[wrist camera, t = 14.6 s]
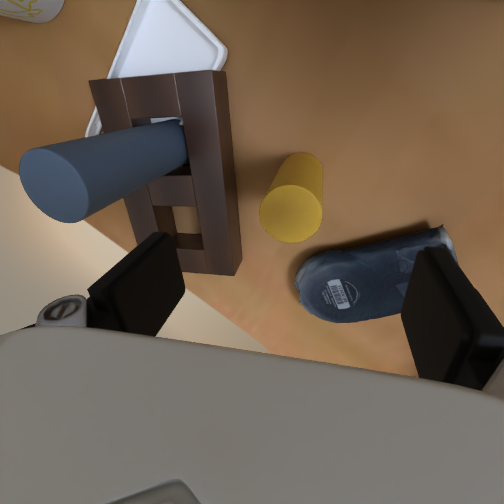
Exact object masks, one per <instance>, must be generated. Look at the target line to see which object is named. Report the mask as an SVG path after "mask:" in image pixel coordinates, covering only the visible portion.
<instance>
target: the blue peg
mask: <svg viewBox="0 0 504 504" xmlns="http://www.w3.org/2000/svg"><path fill="white" fill-rule="evenodd" d="M180 121H181V120H177V119H171V120H166V121H162V122H157V123H152V124H147V125H143V126H138V127H133V128H128V129H124V130H119V131H114V132H109V133H104V134H100V135H95V136H90V137H85V138H81V139H76V140H71V141H66V142H62V143H57V144H52V145H47V146H43V147H38V148H33V149H30V150H28V151H27V152H26V153H25V154H24V155H23V156H22V158H21V160H20V163H19V175H20V179H21V183H22V185H23V187H24V190H25V191H26V193H27V195H28V196H29V198H30V199H31V200H32V202H33V203H34V204H35V205H36V206H37V207H38V208H39V209H40V210H41V211H42V212H44V213H45V214H46V215H48V216H49V217H51V218H53V219H55V220H58V221H60V222H64V223H76V222H79V221H81V220H83V219H85V218H87V217H88V216H90V215H92V214H94V213H96V212H98V211H99V210H101V209H103V208H105V207H107V206H108V205H110V204H112V203H114V202H116V201H118V200H119V199H121V198H123V197H125V196H127V195H129V194H130V193H132V192H134V191H136V190H138V189H139V188H141V187H143V186H145V185H147V184H149V183H150V182H152V181H154V180H156V179H158V178H160V177H161V176H163V175H165V174H167V173H169V172H171V171H172V170H174V169H176V168H178V167H180V166H181V165H183V164H185V163H187V162H189V156H188V150H187V144H186V138H185V132H184V126H182V125H180V124H179V123H180Z"/></svg>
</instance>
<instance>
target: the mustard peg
mask: <svg viewBox="0 0 504 504" xmlns="http://www.w3.org/2000/svg"><path fill="white" fill-rule="evenodd" d="M322 195H323V169H322V166H321V164H320V162H319V161H318V159H317V158H316V157H314V156H313V155H311V154H309V153H303V152H300V153H295V154H293V155H291V156H289V157H288V158H287V159H286V160H285V161H284V162H283V164H282V165H281V167H280V169H279V171H278V173H277V175H276V176H275V178H274V180H273V182H272V184H271V186H270V187H269V189H268V191H267V193H266V195H265V197H264V198H263V200H262V202H261V205H260V210H259V216H260V221H261V224H262V226H263V228H264V229H265V231H266V232H267V233H268V234H269V235H270V236H272V237H273V238H275V239H277V240H279V241H281V242H286V243H297V242H301V241H304V240H306V239H308V238H309V237H311V236H312V235H313V234H314V233H315V232H316V231H317V230H318V228H319V226H320V224H321V221H322Z"/></svg>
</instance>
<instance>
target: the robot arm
mask: <svg viewBox="0 0 504 504" xmlns="http://www.w3.org/2000/svg"><path fill="white" fill-rule="evenodd" d="M87 290H88V292H89V295H90V297H89V298H88V299H87V300H86V298H85V297H84V296H82V295H69V296H65V297H62V298H59V299H57V300H55V301H53V302H51V303H49V304H48V305H47V306H45V307H44V308H43V309H42V310H41V311H40V313H39V315H38V317H37V321H36V323H35V324H33V325H30V326H27V327H24V328H22V329H19V330H16V331H12V332H9V333H6V334H2V335H0V504H504V327H503V326H502V325H501V323H500V322H499V320H498V319H497V317H496V316H495V315H494V313H493V312H492V310H491V309H490V308H489V306H488V305H487V303H486V302H485V300H484V299H483V298H482V296H481V295H480V293H479V292H478V291H477V290H476V289H475V288H474V287H473V285H472V284H471V283H470V281H469V280H468V278H467V277H466V275H465V274H464V273H463V271H462V270H461V268H460V267H459V265H458V264H457V263H456V261H455V260H454V258H453V257H452V255H451V254H450V252H449V251H448V250H447V248H445V247H428V246H426V247H425V248H424V249H423V250H419V251H418V252H417V255H416V258H415V262H414V265H413V269H412V273H411V276H410V280H409V283H408V287H407V290H406V294H405V297H404V301H403V304H402V308H401V319H402V322H403V326H404V329H405V332H406V336H407V339H408V342H409V346H410V349H411V352H412V355H413V359H414V362H415V365H416V369H417V372H418V375H419V378H417V377H412V376H407V375H400V374H394V373H388V372H382V371H376V370H370V369H364V368H357V367H351V366H345V365H338V364H332V363H326V362H319V361H313V360H306V359H300V358H294V357H287V356H281V355H274V354H268V353H261V352H254V351H248V350H242V349H235V348H228V347H221V346H215V345H209V344H201V343H195V342H188V341H182V340H175V339H168V338H161V337H155V336H156V335H157V333H158V332H159V330H160V329H161V327H162V326H163V325H164V323H165V322H166V320H167V318H168V317H169V316H170V314H171V313H172V311H173V310H174V308H175V307H176V305H177V304H178V302H179V301H180V299H181V298H182V296H183V295H184V293H185V284H184V279H183V275H182V271H181V267H180V262H179V258H178V254H177V250H176V245H175V241H174V238H173V237H172V236H170V234H169V233H168V232H153V233H152V234H151V235H149V236H148V237H147V238H146V239H145V240H144V241H143V242H141V243H140V244H139V245H138V246H137V247H136V248H134V249H133V250H132V251H131V252H130V253H129V254H127V255H126V256H125V257H124V258H123V259H122V260H121V261H120V262H118V263H117V264H116V265H115V266H114V267H112V268H111V269H110V270H109V271H108V272H107V273H106V274H104V275H103V276H102V277H101V278H100V279H99V280H97V281H96V282H95V283H94V284H93V285H92V286H90V287H89V288H88V289H87Z"/></svg>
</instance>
